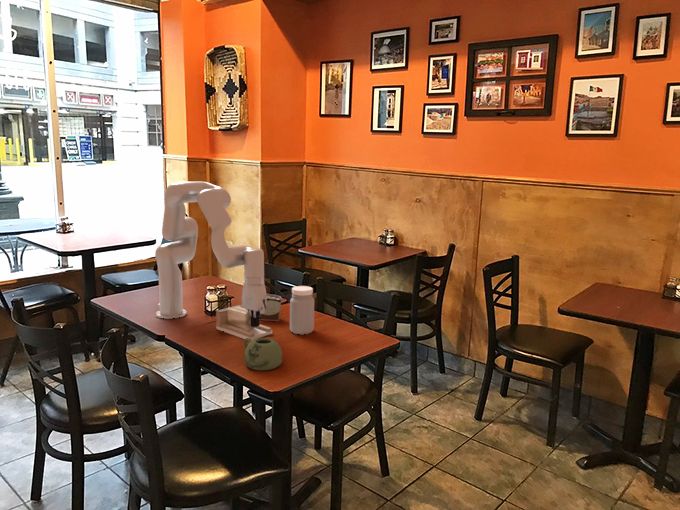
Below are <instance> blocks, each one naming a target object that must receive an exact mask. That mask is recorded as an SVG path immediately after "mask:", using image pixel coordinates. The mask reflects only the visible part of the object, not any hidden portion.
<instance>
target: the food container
mask: <svg viewBox="0 0 680 510" xmlns="http://www.w3.org/2000/svg"><path fill="white" fill-rule="evenodd" d="M266 297H267V307H266V309H265V313H264V314H261V316H259V318H260V321H274V322H279V321H280V316H281V309H282V308H281V306H282V304H283V303H284V302H283V298H282V296H281V295H278V294H271V293H270V294H269V293H266Z"/></svg>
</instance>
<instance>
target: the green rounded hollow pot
mask: <svg viewBox="0 0 680 510" xmlns="http://www.w3.org/2000/svg"><path fill="white" fill-rule="evenodd" d="M247 342H248V345H247ZM242 344H243V348H244V350H245V351H244V355H243V356H244V357H243V359H244V363H245V366H247V367H248V368H250V369H251V370H255V371H271V370H275V369H276V368H278V367H279V366H281V364H282V362H283V352H282V347H281V346H280V344H279V342H278V341H277V340H276V339H274V338H271V337H260V338H257V339H254V340H251V339H250V338H246V339H244V340H243V343H242Z"/></svg>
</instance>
